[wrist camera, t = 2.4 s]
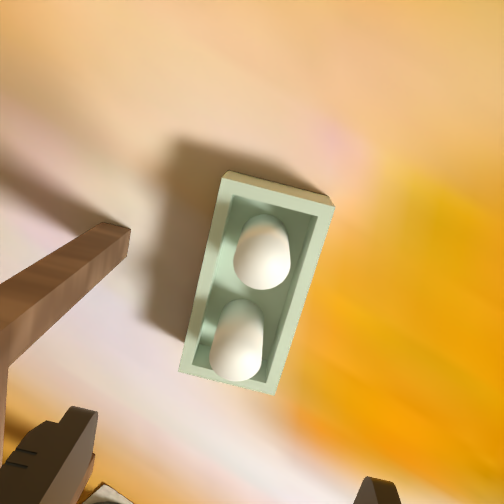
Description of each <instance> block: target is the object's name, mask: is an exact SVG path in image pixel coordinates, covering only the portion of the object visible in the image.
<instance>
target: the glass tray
mask: <svg viewBox="0 0 504 504" xmlns="http://www.w3.org/2000/svg"><path fill="white" fill-rule="evenodd" d="M334 210H335V206H334V204H333V203H332V201H331V200H330V198H329V196H326V195H322V194H318V193H314V192H310V191H306V190H303V189H299V188H295V187H291V186H287V185H283V184H280V183H276V182H272V181H268V180H264V179H260V178H257V177H253V176H249V175H245V174H241V173H237V172H234V171H230V170H228V171H227V172H226V173H225V174H224V176H223V177H222V179H221V183H220V188H219V192H218V197H217V201H216V205H215V210H214V214H213V219H212V223H211V228H210V232H209V237H208V241H207V245H206V250H205V254H204V259H203V263H202V268H201V272H200V277H199V281H198V285H197V290H196V294H195V299H194V303H193V308H192V312H191V316H190V321H189V325H188V330H187V334H186V339H185V343H184V348H183V352H182V356H181V361H180V365H179V370H178V372H181V373H185V374H189V375H193V376H197V377H201V378H205V379H209V380H213V381H217V382H222V383H226V384H230V385H234V386H238V387H242V388H246V389H250V390H254V391H258V392H262V393H266V394H270V395H275V392H276V389H277V386H278V383H279V380H280V377H281V374H282V371H283V368H284V365H285V361H286V358H287V355H288V352H289V349H290V346H291V343H292V340H293V337H294V334H295V331H296V327H297V324H298V321H299V318H300V315H301V312H302V309H303V306H304V303H305V300H306V296H307V293H308V290H309V287H310V284H311V281H312V278H313V275H314V272H315V269H316V266H317V262H318V259H319V256H320V253H321V250H322V247H323V244H324V241H325V238H326V235H327V232H328V228H329V225H330V222H331V219H332V216H333V213H334Z"/></svg>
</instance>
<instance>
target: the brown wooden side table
mask: <svg viewBox="0 0 504 504" xmlns="http://www.w3.org/2000/svg"><path fill="white" fill-rule="evenodd" d="M130 233H131V229H128V228H124V227H120V226H116V225H112V224H108V223H104V222H102V223H100V224H98V225H97V226H95V227H93V228H92V229H90V230H89V231H87V232H85V233H84V234H82V235H80V236H79V237H77V238H75V239H74V240H72V241H70V242H69V243H67V244H65V245H64V246H62V247H61V248H59V249H57V250H56V251H54V252H52V253H51V254H49V255H47V256H46V257H44V258H42V259H41V260H39V261H38V262H36V263H34V264H33V265H31V266H29V267H28V268H26V269H24V270H23V271H21V272H19V273H18V274H16V275H14V276H13V277H11V278H10V279H8V280H6V281H5V282H3V283H1V284H0V468H1V467H2V456H3V440H4V425H5V409H6V394H7V378H8V367H9V366H10V365H11V364H12V363H13V362H14V361H15V360H16V359H17V358H18V357H19V356H21V355H22V354H23V353H24V352H25V351H26V350H27V349H28V348H29V347H30V346H31V345H32V344H33V343H34V342H36V341H37V340H38V339H39V338H40V337H41V336H42V335H43V334H44V333H45V332H46V331H47V330H48V329H49V328H50V327H52V326H53V325H54V324H55V323H56V322H57V321H58V320H59V319H60V318H61V317H62V316H63V315H64V314H65V313H67V312H68V311H69V310H70V309H71V308H72V307H73V306H74V305H75V304H76V303H77V302H78V301H79V300H80V299H82V298H83V297H84V296H85V295H86V294H87V293H88V292H89V291H90V290H91V289H92V288H93V287H94V286H95V285H96V284H98V283H99V282H100V281H101V280H102V279H103V278H104V277H105V276H106V275H107V274H108V273H109V272H110V271H111V270H113V269H114V268H115V267H116V266H117V265H118V264H119V263H120V262H121V261H122V260H123V259H124V258H125V257H126V256H127V252H128V245H129V239H130ZM94 459H95V454H92V456H91V460H90V463H89V466H88V468H87V471H86V473H85V475H84V477H83V479H82V481H81V483H80V485H79V487H78V488H77V490H76V492H75V494H74V496H73V498H72V500H71V502H70V504H76V503H77V501H78V499H79V497H80V495H81V493H82V491H83V489H84V487H85V485H86V484H87V482H88V480H89V478H90V476H91V474H92V471H93V465H94Z"/></svg>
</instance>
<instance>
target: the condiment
mask: <svg viewBox="0 0 504 504" xmlns="http://www.w3.org/2000/svg"><path fill="white" fill-rule="evenodd" d="M82 504H133V503H132V502H131V501H129V500H128V499H126V498H125V497H124V496H122V495H120V494H119V493H117V491H115V490H114V489H112V488H110V487H109V486H107V485H103V486H102V487H100V488H99V489H98V490H97V491H96V492H95V493H94V494H93V495H91V496H90V497H89V498H88V499H87V500H86V501H85V502H83V503H82Z"/></svg>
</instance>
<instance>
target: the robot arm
mask: <svg viewBox="0 0 504 504" xmlns="http://www.w3.org/2000/svg"><path fill="white" fill-rule="evenodd" d="M97 420H98V412H97V411H92V410H88V409H84V408H80V407H75V406H71V407H70V408H69V409H68V411H67V412H66V413H65V415H64V416H63V418H62V419H61V421H60V422H59V423H55V422H51V421H45V422H43V423H42V424H40V425H39V426H37V427H35V428H34V429H32V430H31V431H29V432H28V433H27V435H26V436H25V437H24V438H23V440H22V441H21V442H20V444H19V445H18V446H17V447H16V450H15V451H13V452H12V454H11V455H10V456H9V458H8V459H7V460H6V462H5V464H3V465H2V467H1V468H0V504H70V502H71V500H72V498H73V496H74V494H75V492H76V490H77V488H78V487H79V485H80V483H81V481H82V479H83V477H84V475H85V473H86V471H87V468H88V466H89V463H90V460H91V456H92V452H93V446H94V439H95V433H96V426H97ZM353 504H401V501H400V498H399V495H398V492H397V489H396V487H395V485H394V483H393V482H390V481H385V480H381V479H377V478H373V477H368V476H367V477H365V478H364V480H363V482H362V485H361V487H360V489H359V491H358V494H357V496H356V498H355V501H354V503H353Z"/></svg>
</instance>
